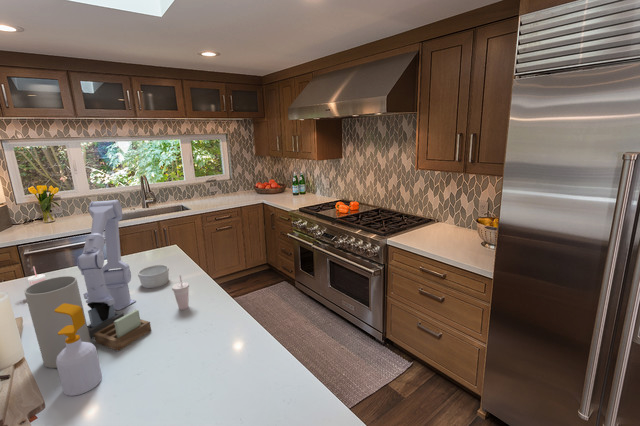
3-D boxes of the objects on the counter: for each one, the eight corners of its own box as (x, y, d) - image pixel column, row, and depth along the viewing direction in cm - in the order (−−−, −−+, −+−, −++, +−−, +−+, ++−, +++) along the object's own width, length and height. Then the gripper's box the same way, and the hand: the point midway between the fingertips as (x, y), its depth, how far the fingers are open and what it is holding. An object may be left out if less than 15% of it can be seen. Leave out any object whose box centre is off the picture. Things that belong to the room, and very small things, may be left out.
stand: (83, 335, 117) (82, 328, 117) (117, 318, 128) (115, 311, 128) (91, 338, 116) (89, 331, 115) (124, 320, 127) (123, 313, 126)
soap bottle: (76, 374, 98) (58, 299, 92) (108, 371, 99) (92, 296, 93) (55, 398, 89) (33, 316, 84) (91, 394, 90) (71, 313, 84)
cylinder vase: (52, 349, 110) (34, 280, 104) (96, 340, 115) (81, 273, 109) (37, 374, 99) (16, 298, 93) (86, 362, 103) (69, 289, 97)
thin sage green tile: (118, 345, 111) (113, 321, 109) (139, 332, 118) (135, 309, 116) (121, 346, 111) (116, 322, 109) (142, 333, 118) (138, 310, 116)
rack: (95, 342, 113) (93, 333, 112) (129, 323, 124) (127, 315, 123) (118, 351, 108) (116, 341, 107) (151, 330, 119) (149, 321, 118)
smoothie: (186, 311, 131) (181, 279, 128) (171, 310, 132) (166, 278, 129) (195, 303, 137) (190, 272, 134) (181, 302, 138) (176, 271, 135)
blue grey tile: (92, 333, 119) (87, 310, 117) (114, 321, 126) (110, 300, 124) (95, 334, 118) (90, 311, 116) (116, 322, 125) (112, 301, 123)
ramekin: (176, 280, 160) (174, 267, 158) (150, 292, 149) (147, 278, 148) (160, 275, 167) (158, 262, 165) (134, 286, 156) (131, 272, 155)
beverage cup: (53, 292, 153) (46, 263, 149) (41, 298, 147) (33, 269, 144) (41, 292, 153) (33, 263, 150) (28, 298, 148) (20, 269, 144)
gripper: (71, 286, 117) (79, 320, 121) (97, 293, 111) (105, 329, 115) (92, 278, 124) (99, 311, 127) (117, 284, 118) (124, 318, 121)
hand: (103, 319), depth 121 cm, fingers closed on blue grey tile, 1 cm apart
